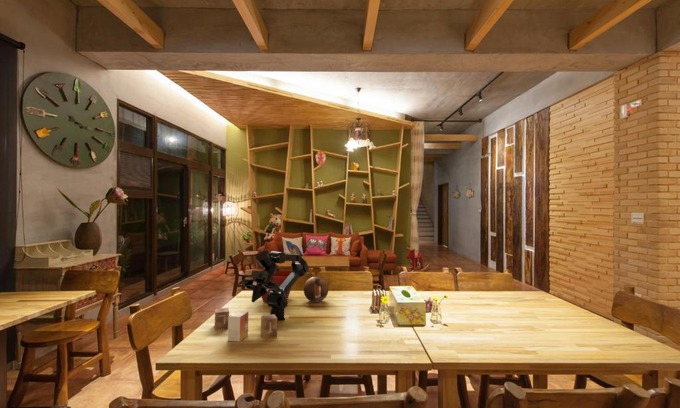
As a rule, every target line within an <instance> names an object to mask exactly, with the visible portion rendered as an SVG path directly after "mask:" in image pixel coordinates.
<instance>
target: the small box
mask: <svg viewBox="0 0 680 408" xmlns="http://www.w3.org/2000/svg"><path fill="white" fill-rule="evenodd" d="M248 334H249V311H248V310H247V311H245V310H236V311H235V312H234V313H231V314H229V316H228V329H227V341H228V342H231V341H232V342H238V343H239V342H241V341H242V340H243V339H245V338H246V337H248V336H249V335H248Z"/></svg>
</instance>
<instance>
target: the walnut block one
mask: <svg viewBox="0 0 680 408" xmlns="http://www.w3.org/2000/svg"><path fill="white" fill-rule="evenodd" d="M260 319H261V320H260V334H261V337H262V339H269V338H277V337H278V321H277V317H276V316H275V314H272V315H270V314H265V315H264V314H263V315H261V316H260Z"/></svg>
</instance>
